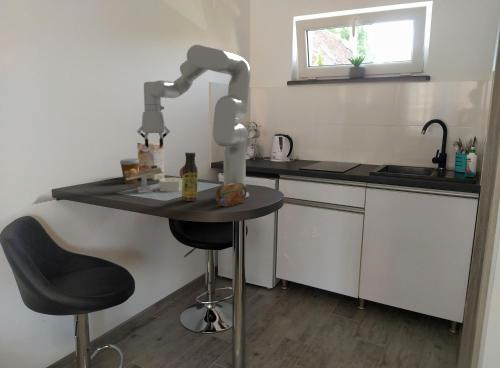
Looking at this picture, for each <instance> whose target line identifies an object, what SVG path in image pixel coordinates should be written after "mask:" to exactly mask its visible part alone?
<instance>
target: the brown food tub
mask: <svg viewBox="0 0 500 368" xmlns="http://www.w3.org/2000/svg"><path fill="white" fill-rule="evenodd" d="M119 163H120V167H121V172H122V178H123V183H124V184H136V183H137V182H138V178H135V179H131V180H126V177H125V173H124V171H127V170H129V171H130V169H135V170H136V171H137V172H139V168H138V163H139V161H138V158H121V159H120V161H119Z"/></svg>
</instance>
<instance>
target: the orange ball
mask: <svg viewBox="0 0 500 368" xmlns="http://www.w3.org/2000/svg"><path fill="white" fill-rule="evenodd" d="M129 173H130V175H132V174H136V173H137V171H136V170H135V169H130V171H129Z"/></svg>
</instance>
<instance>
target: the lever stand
mask: <svg viewBox="0 0 500 368" xmlns="http://www.w3.org/2000/svg"><path fill="white" fill-rule="evenodd" d="M140 179H141V180H140V181H141V186H137V187H136V188H137V192H138V194H141V193H142V194H143V193H153V188H152V187H151V186H150V185H149V186H148V179H147V174H142V177H140Z"/></svg>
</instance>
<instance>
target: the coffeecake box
mask: <svg viewBox="0 0 500 368" xmlns="http://www.w3.org/2000/svg"><path fill="white" fill-rule="evenodd" d="M148 145H149V147H148V148H147V147H146V146H145V141H143V142H142V141H140V142H137V159H138V161H139V163H138V172H139V171H144V170H149V169H151V166H154V165H157V167H160V169H161V170H162V173H159V174H154V175H149V176H147V180H153V181H155V180H156V181H159V179H163V178H165V156H164V145H163V146H162V147H160V142H151V141H148Z"/></svg>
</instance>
